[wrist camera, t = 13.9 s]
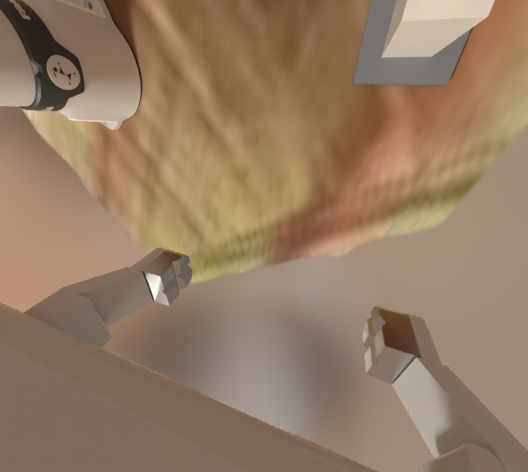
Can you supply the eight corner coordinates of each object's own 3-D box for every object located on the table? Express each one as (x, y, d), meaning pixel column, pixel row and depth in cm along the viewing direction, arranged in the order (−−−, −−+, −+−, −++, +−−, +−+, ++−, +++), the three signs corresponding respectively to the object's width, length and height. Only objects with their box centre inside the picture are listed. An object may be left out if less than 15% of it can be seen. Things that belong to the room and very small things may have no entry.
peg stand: (352, 84, 26) (353, 74, 20) (380, -38, 21) (393, -105, 14) (444, 86, 23) (480, 75, 17) (502, -53, 18) (585, -144, 12)
